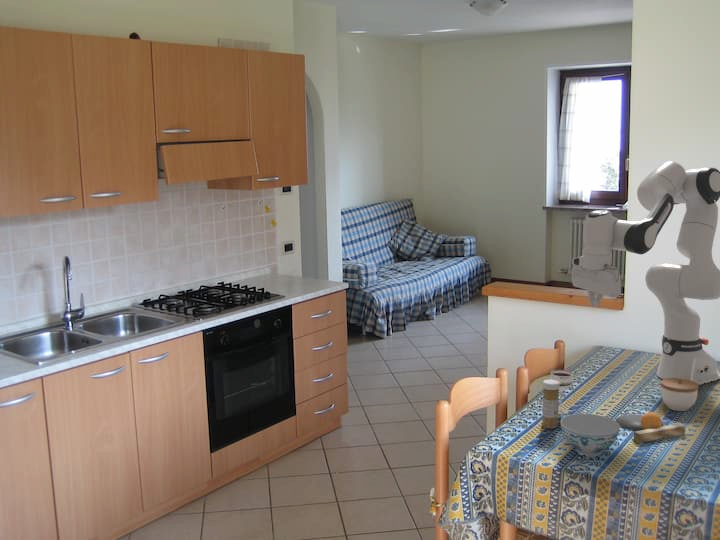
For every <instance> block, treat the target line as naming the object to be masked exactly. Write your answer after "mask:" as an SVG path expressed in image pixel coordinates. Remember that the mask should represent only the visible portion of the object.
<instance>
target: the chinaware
mask: <svg viewBox="0 0 720 540" xmlns="http://www.w3.org/2000/svg"><path fill="white" fill-rule="evenodd" d="M560 428H561V432H562V434H563V437H564V438H565V439H566V441H567V443H568V444H569V445H570V446H572V447H573V448H574V449H575V452H576V451H577V452H578V453H577V452H576V453H577V454H579V453H581V454H583V455H582V456H584V455H587V456H586V457H591V456H593V457H599V456H601V455H602V454H603V452H604V451H606V450H608V449H609V448H610V447H611V446H613V444H614V443H615V441H616V440H617V438H618V436H619V433H620V431H621V426H620V425H619V424H618V423H617V422H616V421H615V419H612V418H609V417H607V416H603V415H599V414H594V413H593V414H592V413H573V414H568V415H566V416H564V417H562V418H561V420H560ZM581 454H580V455H581ZM598 455H599V456H598Z"/></svg>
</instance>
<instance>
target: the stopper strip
mask: <svg viewBox="0 0 720 540" xmlns="http://www.w3.org/2000/svg"><path fill="white" fill-rule="evenodd" d="M685 434H686V425H685V424H682V423H680V422H679V423H675V424H669V425H663V427H657V428H651V429H646V430H640V431H634V432H633V441H634V442H636V443H639V444H641V443H646V442H651V441H657V440H662V439H668V438H673V437H677V436H678V437H679V436H683V435H685Z"/></svg>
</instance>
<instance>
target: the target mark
mask: <svg viewBox="0 0 720 540" xmlns="http://www.w3.org/2000/svg"><path fill="white" fill-rule="evenodd" d="M642 416H643V415H641V414H623V415H620V416H617V417H616V418H615V419H614V421H616V422H617V423H618V424H619V425H620V428H623V429H626V430H630V431H634V432H635V431H640V430H645V429H644V428H643V427H642V425H641V418H642ZM663 426H664V424H663V423H662V424H661V427H663Z"/></svg>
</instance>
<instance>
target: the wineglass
mask: <svg viewBox="0 0 720 540" xmlns="http://www.w3.org/2000/svg"><path fill="white" fill-rule="evenodd" d="M573 376H574V373H573V372H572V371H569V370H564V369H556V370H551V371H550V378H549V379H551V380H557V381H559V384H560V385H559V407H558V415H567V414H569V410H567V409H566V408H562V400H563V392H564V391H566V390H568V389H569V388H570V387H571V386H572V385H573V383H574V378H573Z"/></svg>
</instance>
